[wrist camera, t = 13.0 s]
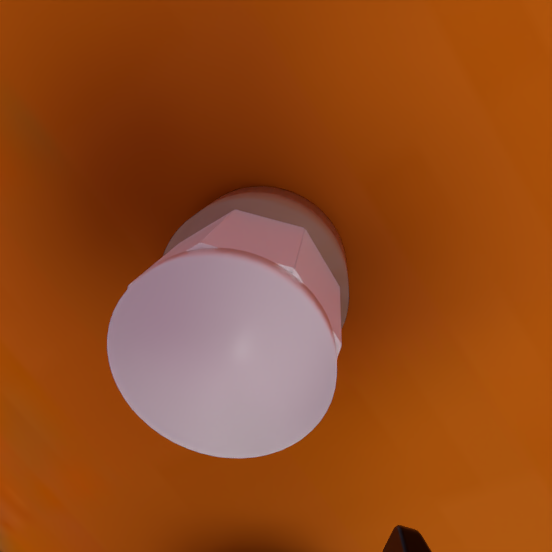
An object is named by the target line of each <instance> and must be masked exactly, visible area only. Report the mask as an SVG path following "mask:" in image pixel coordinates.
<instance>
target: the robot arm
mask: <svg viewBox="0 0 552 552" xmlns="http://www.w3.org/2000/svg"><path fill="white" fill-rule="evenodd" d="M383 552H431V550H430V548H429V547H428V545H427V543H426V542H425V540H424V538H423V537H422V535H421V534H420V533H419V532H418V531H417V530H415V529H411V528H408V527H404V526H401V525H398V526H396V527H395V528H394V530H393V531H392V533H391V535H390V537H389V539H388V541H387V543H386V545H385V547H384V549H383Z"/></svg>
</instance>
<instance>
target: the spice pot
mask: <svg viewBox="0 0 552 552" xmlns="http://www.w3.org/2000/svg"><path fill="white" fill-rule="evenodd" d="M235 209H236V210H240V211H243V212H247V213H251V214H255V215H258V216H262V217H266V218H269V219H273V220H277V221H281V222H284V223H288V224H292V225H296V226H299V227H303V228H304V229H306V231H307V232H308V234H309V236H310V237H311V239H312V241H313V242H314V244H315V246H316V247H317V249H318V251H319V252H320V254H321V256H322V258H323V259H324V261H325V263H326V264H327V266H328V268H329V269H330V271H331V273H332V274H333V276H334V278H335V279H336V281H337V283H338V285H339V286H340V308H341V329H342V327H343V324H344V322H345V319H346V315H347V311H348V304H349V285H348V273H347V260H346V255H345V249H344V246H343V243H342V240H341V238H340V236H339V234H338V232H337V230H336V228H335V227H334V225H333V224H332V222H331V221H330V219H329V218H328V217H327V216H326V215H325V214H324V213H323V212H322V211H321V210H320V209H319V208H318V207H317V206H315V205H314V204H313V203H311V202H310V201H308V200H307V199H305V198H304V197H302V196H300V195H298V194H295V193H293V192H290V191H287V190H284V189H280V188H275V187H266V186H255V187H246V188H242V189H237V190H235V191H232V192H229V193H227V194H225V195H223V196H221V197H219V198H217V199H216V200H215V201H213V202H212V203H210V204H209V205H208V206H206V207H205V208H203V209H202V210H201V211H199V212H198V213H197V214H195V215H194V216H192V217H191V218H190V219H189V220H187V221H186V222H185V223H184V224H183V225H182V226H181V227H180V228H179V229H178V230H177V231H176V233H175V234H174V236H173V237H172V238H171V240H170V242H169V244H168V245H167V247H166V249H165V252H164V255H165V254H167V253H168V252H169V251H170V250H171V249H173V248H174V247H175V246H176V245H177V244H179V243H180V242H182V241H183V240H185V239H187V238H188V237H190V236H192V235H193V234H195V233H197V232H198V231H200V230H202V229H203V228H205V227H206V226H208V225H210V224H211V223H213V222H215V221H216V220H218V219H220V218H221V217H223V216H225V215H226V214H228V213H230V212H231V211H233V210H235ZM164 255H163V256H164Z"/></svg>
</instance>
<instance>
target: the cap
mask: <svg viewBox="0 0 552 552" xmlns="http://www.w3.org/2000/svg"><path fill="white" fill-rule="evenodd" d="M341 346H342V341H341V308H340V286H339V285H338V283H337V281H336V279H335V278H334V276H333V274H332V273H331V271H330V269H329V268H328V266H327V264H326V263H325V261H324V259H323V258H322V256H321V254H320V252H319V251H318V249H317V247H316V246H315V244H314V242H313V241H312V239H311V237H310V236H309V234H308V232H307V231H306V229H304V228H303V227H299V226H296V225H292V224H288V223H284V222H281V221H277V220H273V219H269V218H266V217H262V216H258V215H255V214H251V213H247V212H243V211H240V210H236V209H235V210H233V211H231V212H230V213H228V214H226V215H225V216H223V217H221V218H220V219H218V220H216V221H215V222H213V223H211V224H210V225H208V226H206V227H205V228H203V229H202V230H200V231H198V232H197V233H195V234H193V235H192V236H190V237H188V238H187V239H185V240H183V241H182V242H180V243H179V244H177V245H176V246H175V247H174V248H173V249H171V250H170V251H169V252H168V253H167V254H165V255H164V256H163V257H162V258H161V259H159V260H158V261H157V262H156V263H155V264H153V265H152V266H151V267H150V268H148V269H147V270H146V271H145V272H144V273H142V274H141V275H140V276H139V277H138V278H136V279H135V280H134V281H133V282H132V283H130V284H129V286H128V289H127V291H126V292H125V293H124V295H123V296H122V297H121V299H120V300H119V302H118V304H117V306H116V308H115V309H114V311H113V314H112V317H111V320H110V323H109V329H108V335H107V352H108V359H109V364H110V368H111V372H112V375H113V377H114V380H115V382H116V384H117V387H118V388H119V390H120V392H121V394H122V395H123V397H124V399H125V400H126V401H127V403H128V404H129V406H130V407H131V408H132V409H133V411H134V412H135V413H136V414H137V415H138V416H139V417H140V418H141V419H142V420H143V421H144V422H145V423H146V424H148V425H149V426H150V427H151V428H152V429H154V430H155V431H156V432H158V433H159V434H161V435H162V436H164V437H165V438H167V439H169V440H171V441H172V442H174V443H176V444H178V445H180V446H183V447H185V448H187V449H190V450H193V451H196V452H199V453H202V454H207V455H211V456H216V457H224V458H252V457H259V456H264V455H268V454H272V453H275V452H278V451H281V450H283V449H285V448H287V447H289V446H291V445H293V444H295V443H296V442H298V441H300V440H301V439H303V438H304V437H305V436H306V435H307V434H309V433H310V432H311V431H312V430H313V429H314V428H315V427H316V426H317V424H318V423H319V422H320V421H321V419H322V418H323V416H324V415H325V413H326V412H327V410H328V408H329V405H330V403H331V401H332V398H333V394H334V391H335V387H336V378H337V357H338V354H339V352H340V349H341Z"/></svg>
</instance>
